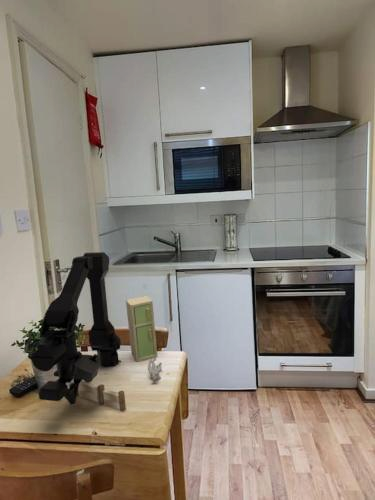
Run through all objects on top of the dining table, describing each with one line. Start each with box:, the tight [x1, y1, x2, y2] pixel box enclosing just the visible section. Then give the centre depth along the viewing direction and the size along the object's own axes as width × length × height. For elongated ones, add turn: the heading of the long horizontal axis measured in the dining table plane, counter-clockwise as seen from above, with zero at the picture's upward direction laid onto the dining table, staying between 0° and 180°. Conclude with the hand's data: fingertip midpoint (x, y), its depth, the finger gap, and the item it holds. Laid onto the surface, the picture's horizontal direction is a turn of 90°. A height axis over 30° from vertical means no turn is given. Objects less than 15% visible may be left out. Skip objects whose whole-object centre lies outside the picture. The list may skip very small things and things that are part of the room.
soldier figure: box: [147, 357, 169, 383], centre depth 111 cm, size 8×5×12 cm
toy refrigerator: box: [125, 295, 158, 363], centre depth 123 cm, size 8×7×21 cm
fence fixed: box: [98, 384, 127, 412], centre depth 96 cm, size 9×2×6 cm, turn 61°
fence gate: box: [77, 380, 99, 403], centre depth 100 cm, size 9×2×5 cm, turn 61°
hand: (73, 403), depth 96 cm, fingers closed
